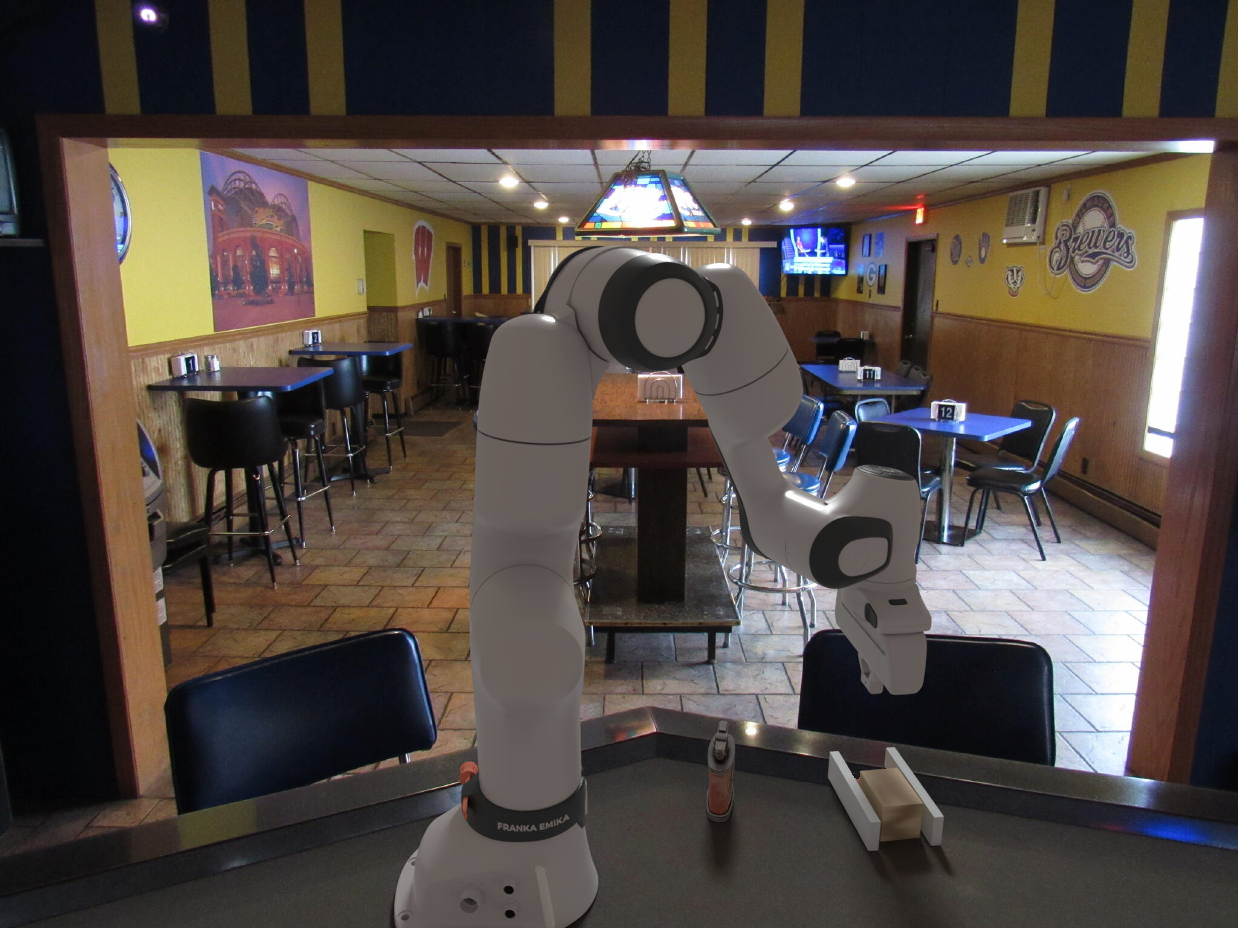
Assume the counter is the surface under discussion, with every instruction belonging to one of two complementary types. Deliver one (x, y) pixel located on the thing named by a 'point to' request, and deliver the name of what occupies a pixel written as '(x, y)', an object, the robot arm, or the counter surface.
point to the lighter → (720, 774)
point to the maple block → (892, 803)
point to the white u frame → (864, 812)
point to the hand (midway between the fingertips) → (871, 687)
